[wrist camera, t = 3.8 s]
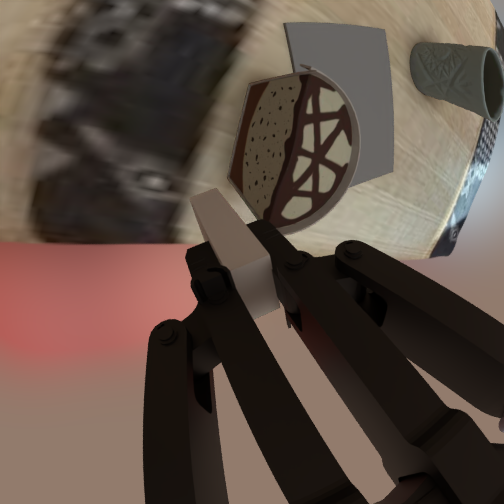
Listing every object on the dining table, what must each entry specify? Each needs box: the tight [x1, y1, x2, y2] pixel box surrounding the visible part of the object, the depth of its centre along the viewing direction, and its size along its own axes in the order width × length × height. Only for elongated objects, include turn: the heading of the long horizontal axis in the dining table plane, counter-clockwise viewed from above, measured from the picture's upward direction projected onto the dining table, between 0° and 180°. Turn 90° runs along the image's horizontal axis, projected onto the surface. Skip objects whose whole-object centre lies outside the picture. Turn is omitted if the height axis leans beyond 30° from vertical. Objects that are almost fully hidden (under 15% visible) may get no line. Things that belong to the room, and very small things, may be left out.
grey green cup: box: [410, 43, 504, 122], centre depth 21 cm, size 10×10×12 cm
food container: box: [227, 64, 361, 236], centre depth 21 cm, size 12×6×10 cm, turn 166°
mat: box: [284, 22, 394, 187], centre depth 26 cm, size 14×20×1 cm
